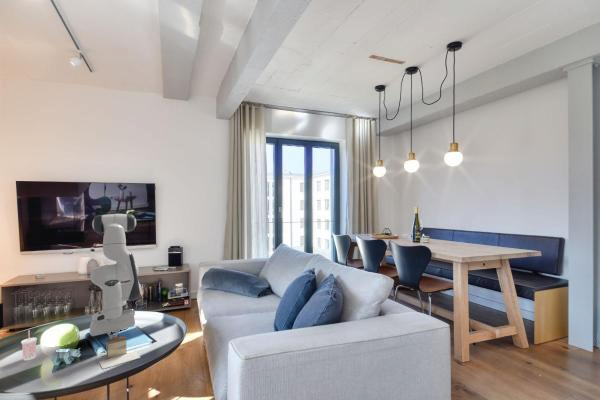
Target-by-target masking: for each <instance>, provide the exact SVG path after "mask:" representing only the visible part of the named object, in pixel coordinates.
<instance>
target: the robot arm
mask: <svg viewBox="0 0 600 400" xmlns="http://www.w3.org/2000/svg"><path fill="white" fill-rule="evenodd" d="M91 226H92V229H93V231H94V232H96V233H97V234H99V235H100V236H102V234H103V241H102V250H103V251H102V252H103V256H104V257H106V259H108V260H110V261H113V262H115V263H113V264H112V263H111V264H105V265H100V266H96V267H94V268H93V269H92V270H91V272H90V274H89V277H90V281H91V283H93V284H94V285H95V286H97V287H99V288H100V289H101V290H100V291H101V292H100V294H101V296H100V297H101V301H102V303H103V306H102V309H101V310H100V311H98V312H97V311H96V312H95V313H94V314H92V317H91V318H92V320H91V321H90V324H89V334H90V336H91V337H95V336H100V335H105V334H107V335H108V337H109V339H113V338H117V337H118V334H119V333H120V332H121V331H120V330H122V331H125V330H126V329H128V328H133V327H134V326H136V321H135V315H136V311H135V309H133V308H129V309H128V303H127V301H128V302H129V301H130V302H131V301H136V300H137V299H139V297H141V296H142V286H141V284H140V282H139V276H138V275H139V266H138V265H137V264H136V262H135V258H134V255H133V253H132V252H130V251H129V250H128V249H127V239H126V233H129V232H132V231H134V230H135V228H136V226H137V219H136V217H135V215H134V214H131V213H127V214H126V213H111V214H98V215H96V216H94V218H93V220H92V223H91ZM126 281H128V282H126ZM124 329H125V330H124ZM111 332H112V333H114V335H111V334H112V333H111Z"/></svg>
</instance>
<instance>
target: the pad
mask: <svg viewBox="0 0 600 400" xmlns="http://www.w3.org/2000/svg"><path fill="white" fill-rule="evenodd" d="M138 359H141V356H140V355H139V354H138V352H137V351H136V350H134V351H132V352H129V353H128V352H127V354H124V355H121V356H117V357H114V358H110V359H108V358H107V359H103V360H100V361H98V362H99V365H100V367H101V369H102V370H106V369H108V368H112V367H116V366H119V365H122V364H125V363H128V362H132V361H135V360H138Z"/></svg>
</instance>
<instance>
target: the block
mask: <svg viewBox="0 0 600 400" xmlns="http://www.w3.org/2000/svg"><path fill="white" fill-rule="evenodd" d="M105 344H106V346H105V347H106V348H105V349H106V358H107V359H110V358H114V357H117V356H121V355H124V354H128V352H127V350H128V349H127V337H126V336H125V335H121V336H117V338H113V339H110V338H109V339H106V342H105Z"/></svg>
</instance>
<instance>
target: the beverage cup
mask: <svg viewBox="0 0 600 400" xmlns="http://www.w3.org/2000/svg"><path fill="white" fill-rule="evenodd" d="M27 334H28V336H27V337H28V338H25V339H23V340H21V341H20V343H21V344H20V345H21V349H22V358H23V361H31V360H34V359H35V358H36V354H37V352H36V351H37V342H38V341H37V340H38V338H37V337H31V336H30V335H31V331H30V329H28V331H27Z"/></svg>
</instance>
